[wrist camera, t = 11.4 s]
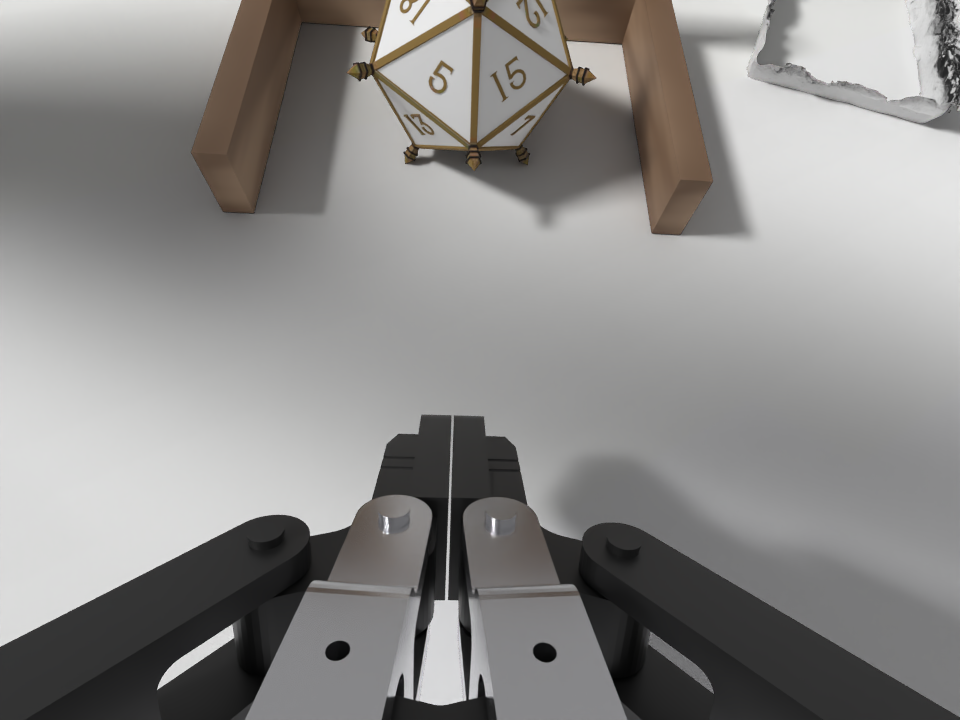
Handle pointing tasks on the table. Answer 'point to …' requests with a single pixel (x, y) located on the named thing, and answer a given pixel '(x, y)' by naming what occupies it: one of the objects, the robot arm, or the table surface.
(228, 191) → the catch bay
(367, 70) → the game die
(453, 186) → the table surface
